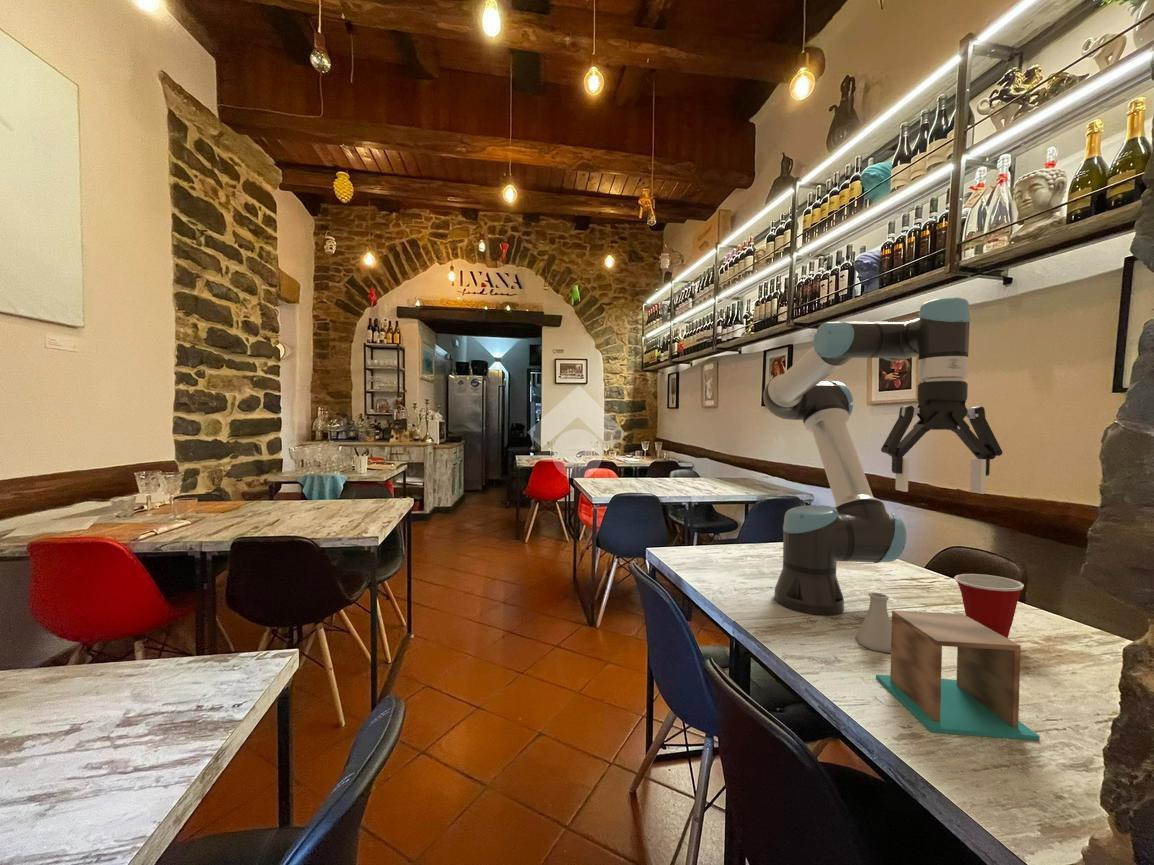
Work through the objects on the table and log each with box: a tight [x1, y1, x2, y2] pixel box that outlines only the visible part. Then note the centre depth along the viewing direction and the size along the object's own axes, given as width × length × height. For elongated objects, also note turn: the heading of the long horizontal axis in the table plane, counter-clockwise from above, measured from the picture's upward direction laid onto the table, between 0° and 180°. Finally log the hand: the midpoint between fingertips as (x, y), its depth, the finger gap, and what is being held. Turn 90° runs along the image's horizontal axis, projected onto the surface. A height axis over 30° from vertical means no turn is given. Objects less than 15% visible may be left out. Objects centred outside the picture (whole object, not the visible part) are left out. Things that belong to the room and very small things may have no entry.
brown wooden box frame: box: [889, 609, 1022, 728], centre depth 71 cm, size 11×11×12 cm
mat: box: [875, 674, 1041, 741], centre depth 71 cm, size 14×14×1 cm
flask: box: [855, 591, 892, 654], centre depth 91 cm, size 7×7×10 cm
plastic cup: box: [953, 573, 1025, 639], centre depth 95 cm, size 11×11×12 cm
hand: (939, 492), depth 88 cm, fingers open, 13 cm apart
